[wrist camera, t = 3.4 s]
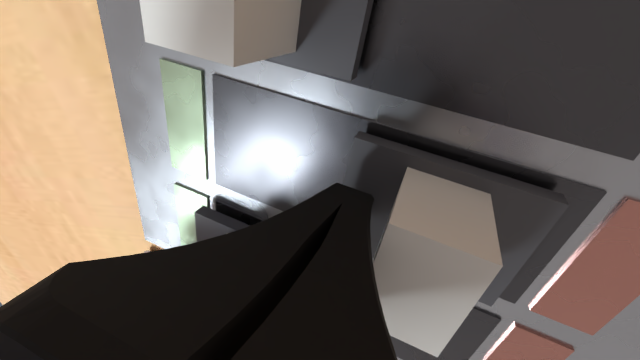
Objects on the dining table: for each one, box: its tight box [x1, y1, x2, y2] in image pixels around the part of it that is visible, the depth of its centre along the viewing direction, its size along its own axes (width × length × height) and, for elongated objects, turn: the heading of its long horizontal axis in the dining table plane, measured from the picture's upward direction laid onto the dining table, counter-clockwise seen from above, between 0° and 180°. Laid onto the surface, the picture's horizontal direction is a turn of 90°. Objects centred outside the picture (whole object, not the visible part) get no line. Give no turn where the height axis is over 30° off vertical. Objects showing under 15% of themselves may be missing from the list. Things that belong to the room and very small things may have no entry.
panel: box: [97, 0, 640, 360], centre depth 12 cm, size 18×24×2 cm
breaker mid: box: [343, 131, 569, 357], centre depth 9 cm, size 4×6×4 cm
